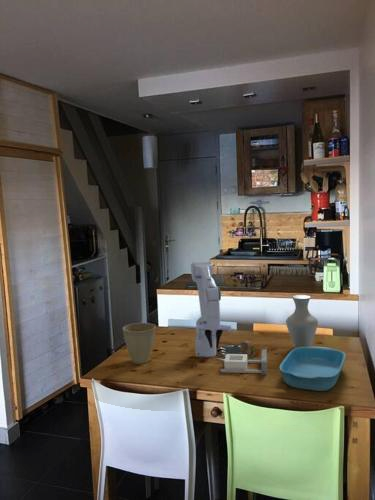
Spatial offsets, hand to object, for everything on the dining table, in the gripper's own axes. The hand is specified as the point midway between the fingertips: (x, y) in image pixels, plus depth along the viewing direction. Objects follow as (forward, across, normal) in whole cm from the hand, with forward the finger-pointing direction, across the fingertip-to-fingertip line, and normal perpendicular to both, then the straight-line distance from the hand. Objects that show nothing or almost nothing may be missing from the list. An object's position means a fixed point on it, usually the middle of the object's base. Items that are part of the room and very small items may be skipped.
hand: (214, 347), depth 185 cm
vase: (+10, +38, +28) cm, 48 cm away
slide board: (+9, +12, 0) cm, 15 cm away
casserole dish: (+10, +40, -5) cm, 42 cm away
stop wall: (+9, +21, 0) cm, 22 cm away
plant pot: (+10, -35, +7) cm, 37 cm away
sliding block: (+8, +9, 0) cm, 12 cm away
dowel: (+9, +12, +15) cm, 21 cm away
